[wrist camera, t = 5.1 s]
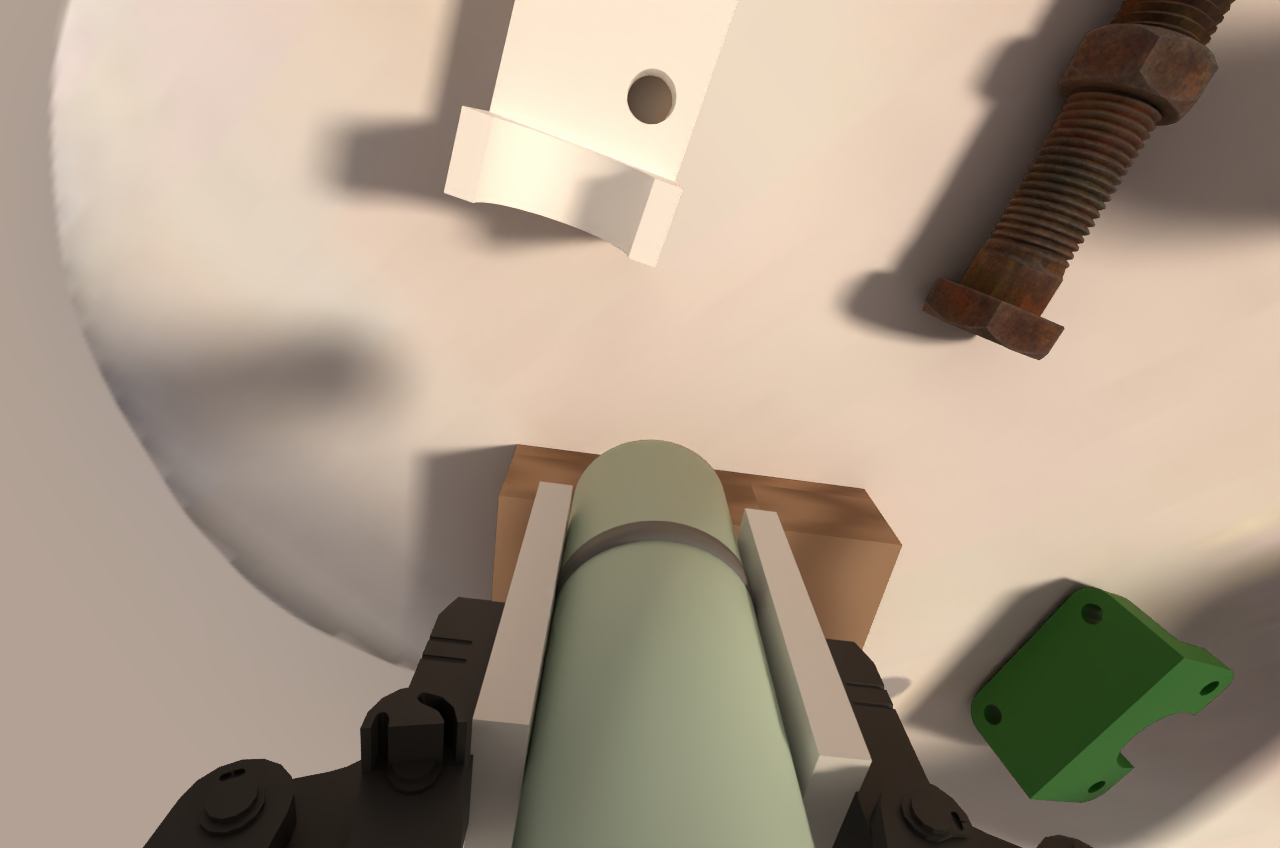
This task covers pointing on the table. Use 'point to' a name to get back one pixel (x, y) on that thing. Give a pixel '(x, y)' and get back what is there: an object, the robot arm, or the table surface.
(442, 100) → the table surface
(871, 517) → the board
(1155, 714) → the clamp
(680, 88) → the bracket
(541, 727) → the peg
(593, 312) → the table surface
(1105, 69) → the bolt
